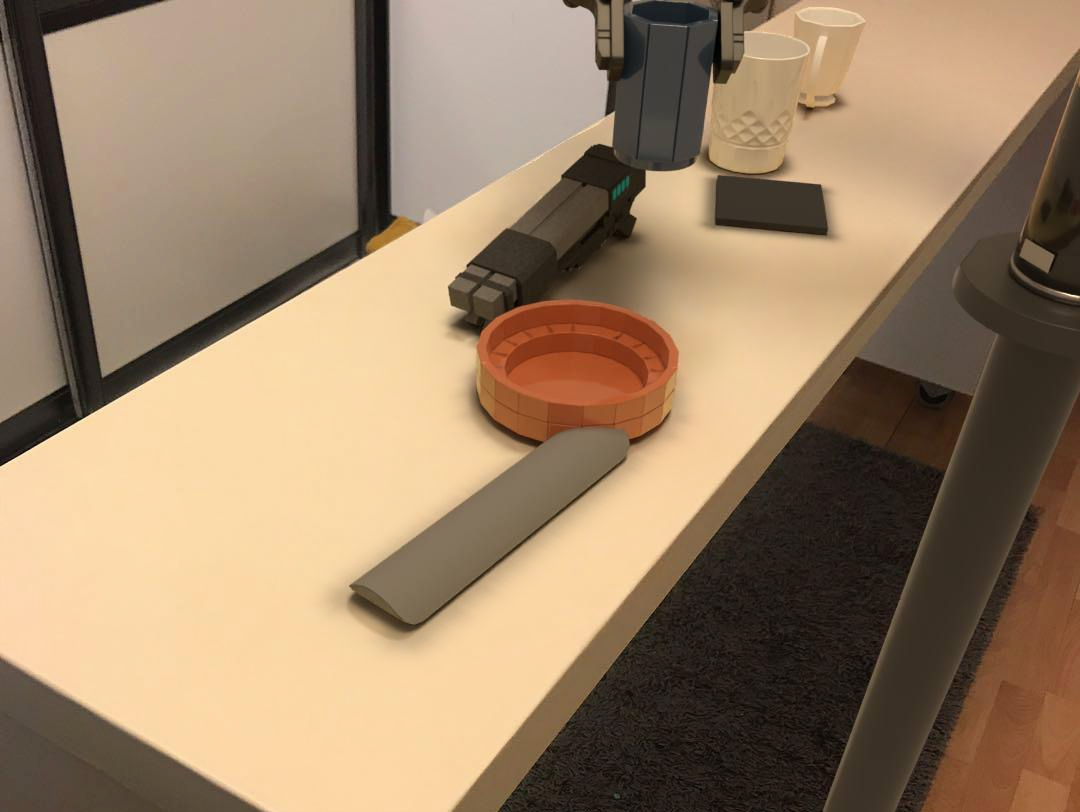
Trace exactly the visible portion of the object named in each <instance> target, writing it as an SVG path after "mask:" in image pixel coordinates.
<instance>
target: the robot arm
mask: <svg viewBox="0 0 1080 812" xmlns="http://www.w3.org/2000/svg"><path fill="white" fill-rule="evenodd" d="M769 1H770V0H708V2H709V5H710V7H711V8H714V9H716V10H718V25H717V32H716V40H715V47H714V55H713V62H712V84H713V85H714V84H727V82H728V79H729V77H730V75H731V74H735V73H736V71H737V68H738V66H739V64H740V62H741V60H742V57H743V55H744V52H745V51H744V31H745V14H747V13H752V14H755V15H757V14H761V13H764V11H765V10H766V8H767V6H768V4H769ZM562 3H563V4H564V5H565V7H567V8H569V9H576V8H579V7H581V8H584V9H586V10H588V11H589V12H590V13H591V14H592V16H593V18H594V62H595V65H596V67H597V69H598V71H606V80H607V82H617V81H620V79H621V75H622V71H623V67H624V6H625V2H624V0H562ZM1043 168H1044V169H1043V171H1042V173H1041V177H1040V179H1039V182H1038V185H1037V187H1036V190H1035V193H1034V197H1033V198H1032V202H1031V205H1030V207H1029V210H1028V213H1027V216H1026V219H1025V222H1024V223H1023V227H1022V230H1021V232H1022V233H1021V235H1020V238H1019V239H1018V242H1017V245H1016V249H1015V251H1014V252H1013V254H1012V257H1011V259H1010V262H1009V265H1008V270H1009V273H1010V275H1011V276H1012V278H1013V279H1014V280H1015V281H1016V282H1017V283H1018V284H1020V285H1021V286H1022V287H1024V288H1025V289H1027V290H1029V291H1030V292H1032V293H1034V294H1036V295H1039V296H1041V297H1043V298H1046V299H1049V300H1052V301H1055V302H1058V303H1062V304H1066V305H1071V306H1076V307H1080V69H1079V70H1078V73H1077V76H1076V78H1075V81H1074V84H1073V86H1072V89H1071V92H1070V95H1069V98H1068V101H1067V103H1066V107H1065V109H1064V112H1063V114H1062V118H1061V120H1060V124H1059V126H1058V129H1057V132H1056V134H1055V137H1054V140H1053V143H1052V146H1051V148H1050V152H1049V154H1048V157H1047V159H1046V163H1045V165H1044V167H1043Z"/></svg>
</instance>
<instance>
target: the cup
mask: <svg viewBox="0 0 1080 812" xmlns="http://www.w3.org/2000/svg"><path fill="white" fill-rule="evenodd" d="M793 19H794V20H793V23H794V24H793V37H794V38H796V39H799V40H801V41H803V42H805V43H806V44H807V45H808V46H809V47H810V54H809V59H808V63H807V67H806V71H805V75H804V79H803V84H802V88H801V92H800V97H799V101H798V104H802V105H805V107H806V108H812V109H814V108H815V107H829V106H830V105H832V104H835V102H836V97H835V96H834V94H835V93H837V92H838V91H839V90H840V88H841V86H842V84H843V82H844V79H845V78H846V76H847V73H848V71H849V69H850V66H851V63H852V60H853V57H854V55H855V52H856V49H857V47H858V44H859V42H860V39H861V36H862V33H863V31H864V28H865V25H866V23H867V21H866V20H865V19H864V18H863V16H861V15H860V14H859V13H857V12H854V11H850V10H848V9H847V10H846V9H843V8H839V7H831V6H830V7H829V6H808V7H806V8H803V9H802V8H801V9H800V10H797V11H794V18H793Z"/></svg>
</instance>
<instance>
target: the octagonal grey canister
mask: <svg viewBox="0 0 1080 812" xmlns="http://www.w3.org/2000/svg"><path fill="white" fill-rule="evenodd" d="M717 25H718V10H716V9H714V8H712V6H708V5H706V4H702V3H699V2H698V1H694V0H634V1H629V2H626V3H624V67H623V71H622V75H621V79H620V81H616V89H615V90H616V92H615V104H614V116H613V127H612V141H611V147H613V149H614V154H615V156H616V158H617V159H618V160H619V161H621V162H622V163H624V164H626V165H628V166H631V167H634V168H638V169H642V170H646V171H649V172H675V171H681V170H685V169H688V168H689V167H692V166H693V165H695V164H696V162H697V160H698V157H699V156H700V155H701V150H702V144H703V136H704V128H705V120H706V114H707V105H708V99H709V91H710V85H711V84H710V83H711V76H712V70H713V63H712V62H713V55H714V47H715V40H716V32H717Z"/></svg>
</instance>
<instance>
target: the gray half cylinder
mask: <svg viewBox="0 0 1080 812" xmlns="http://www.w3.org/2000/svg"><path fill="white" fill-rule="evenodd" d="M630 444H631V442H630V439H629V438H628V434H627V432H626V431H625V429H614V428H613V429H611V428H605V427H586V428H574V429H568V430H564V431H562V432H559V433H557V434H555V435H554V436H552V437H551V438H550V439H548V440H547V441H545V442H542V443H541V444H540V445H539V446H538V447H535V449H533V450H531V451H530V452H529V453H527V454H526V455H525V456H524V457H522V458H521V459H519V460H518V461H517V462H515V463H514V464H512V465H511V466H509V467H508V468H507V469H506V470H504V471H503V472H501V473H499V475H497V476H496V477H495V478H493V479H492V480H490V482H488V483H487V484H485V485H484V486H483V487H481V488H480V489H479V490H477V491H476V492H474V493H473V494H472V495H470V496H469V497H468V498H466V499H465V500H463V501H462V502H461V503H459V504H458V505H457V506H455V507H454V508H452V510H449V512H447V513H446V514H444V515H442V517H440V518H439V519H437V520H436V521H435V522H433V524H431V525H429V526H428V527H427V528H426V529H424V530H422V531H421V532H420V533H418V534H417V535H416V536H415V537H412V538H411V540H409V541H408V542H406V543H404V545H402V546H401V547H400V548H398V549H397V550H395V551H394V552H392V553H391V554H390V555H388V556H387V557H386V558H384V559H383V560H382V561H379V563H377V564H376V565H375V566H373V567H372V568H371V569H369V570H368V571H366V573H364V574H363V575H361V576H360V577H359V578H357V579H356V580H354V581H353V582H352V583H350V584H349V585H348V587H349V588H350V589H351V591H353V592H355V593H356V594H358V595H359V596H361V597H362V598H364V599H365V600H367V601H369V602H371V604H373V605H376V606H377V607H379V608H380V609H382V610H384V611H385V612H387V613H388V614H390V615H391V616H393V617H394V618H396V619H398V620H399V621H401V622H403V623H406V624H410V625H416V624H420V623H422V622H425V620H426V619H428V618H429V617H430V616H432V615H433V614H434V613H435V612H436V611H438V610H439V609H440V608H441V607H443V606H444V605H445V604H446V603H448V602H449V601H450V600H451V599H452V598H454V597H455V596H456V595H458V593H460V592H461V591H463V589H465V588H466V587H468V586H469V585H470V584H471V583H472V582H474V581H475V580H476V579H477V578H479V577H480V576H482V574H483V573H485V572H486V571H487V570H488V569H489V568H491V567H492V566H493V565H495V564H496V563H497V562H498V561H499V560H500V559H502V558H503V557H505V556H506V555H507V554H508V553H509V552H511V551H513V549H514V548H515V547H517V546H518V545H519V544H521V543H522V542H523V541H525V539H527V538H528V537H529V536H531V535H532V534H533V533H534V532H535V531H537V529H539V528H540V527H542V525H544V524H545V523H546V522H547V521H549V520H550V519H551V518H553V517H554V516H555V515H556V514H558V513H559V512H560V511H561V510H563V508H565V507H566V506H568V504H571V502H572V501H574V499H576V498H577V497H578V496H580V495H582V494H583V492H585V491H586V490H587V489H588V488H590V487H591V486H592V485H593V484H594V483H596V482H597V481H598V480H600V479H601V478H602V477H603V476H604V475H606V474H607V473H608V472H610V471H611V470H612V469H613V468H614V467H616V466H617V465H618V464H619V463H621V462H622V461H624V459H625V458H626V456H627V455H628V453H629V450H630Z"/></svg>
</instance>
